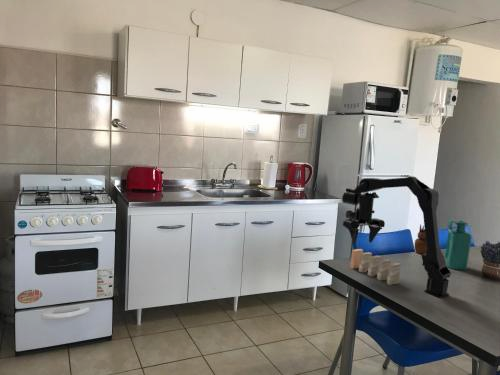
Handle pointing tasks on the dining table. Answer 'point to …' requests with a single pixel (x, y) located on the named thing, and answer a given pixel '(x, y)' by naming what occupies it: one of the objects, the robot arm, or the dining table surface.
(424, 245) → the wooden figurine
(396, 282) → the domino
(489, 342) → the dining table surface
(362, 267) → the domino
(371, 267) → the domino
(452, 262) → the teal tall bottle
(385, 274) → the domino
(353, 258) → the domino
